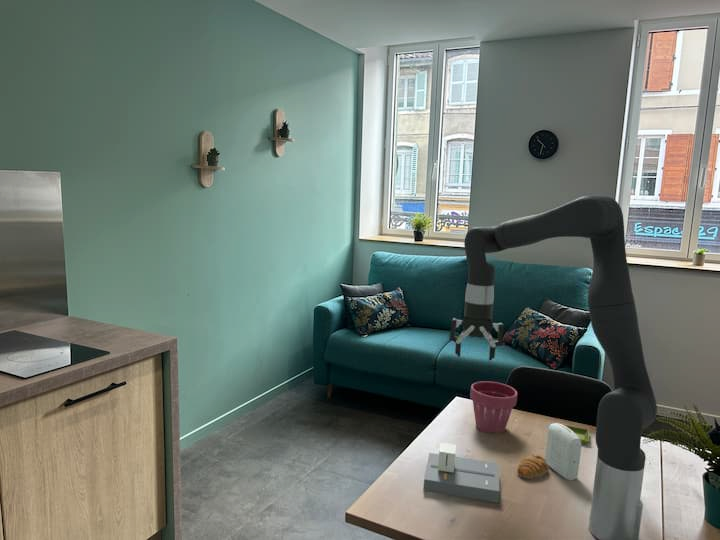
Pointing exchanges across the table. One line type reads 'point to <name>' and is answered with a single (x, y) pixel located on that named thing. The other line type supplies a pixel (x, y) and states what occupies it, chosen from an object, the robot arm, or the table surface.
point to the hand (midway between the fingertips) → (474, 357)
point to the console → (464, 479)
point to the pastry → (533, 467)
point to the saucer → (580, 433)
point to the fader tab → (447, 457)
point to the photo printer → (563, 451)
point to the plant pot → (492, 405)
